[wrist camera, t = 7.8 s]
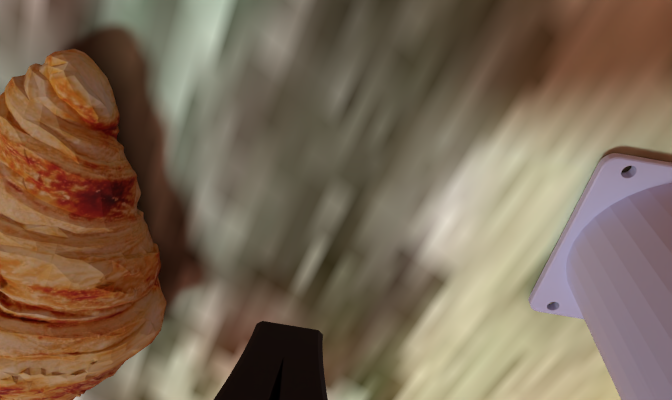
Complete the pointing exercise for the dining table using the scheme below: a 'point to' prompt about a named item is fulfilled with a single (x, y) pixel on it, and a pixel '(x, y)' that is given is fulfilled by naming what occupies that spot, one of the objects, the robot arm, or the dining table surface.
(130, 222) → the croissant
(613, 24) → the dining table surface
